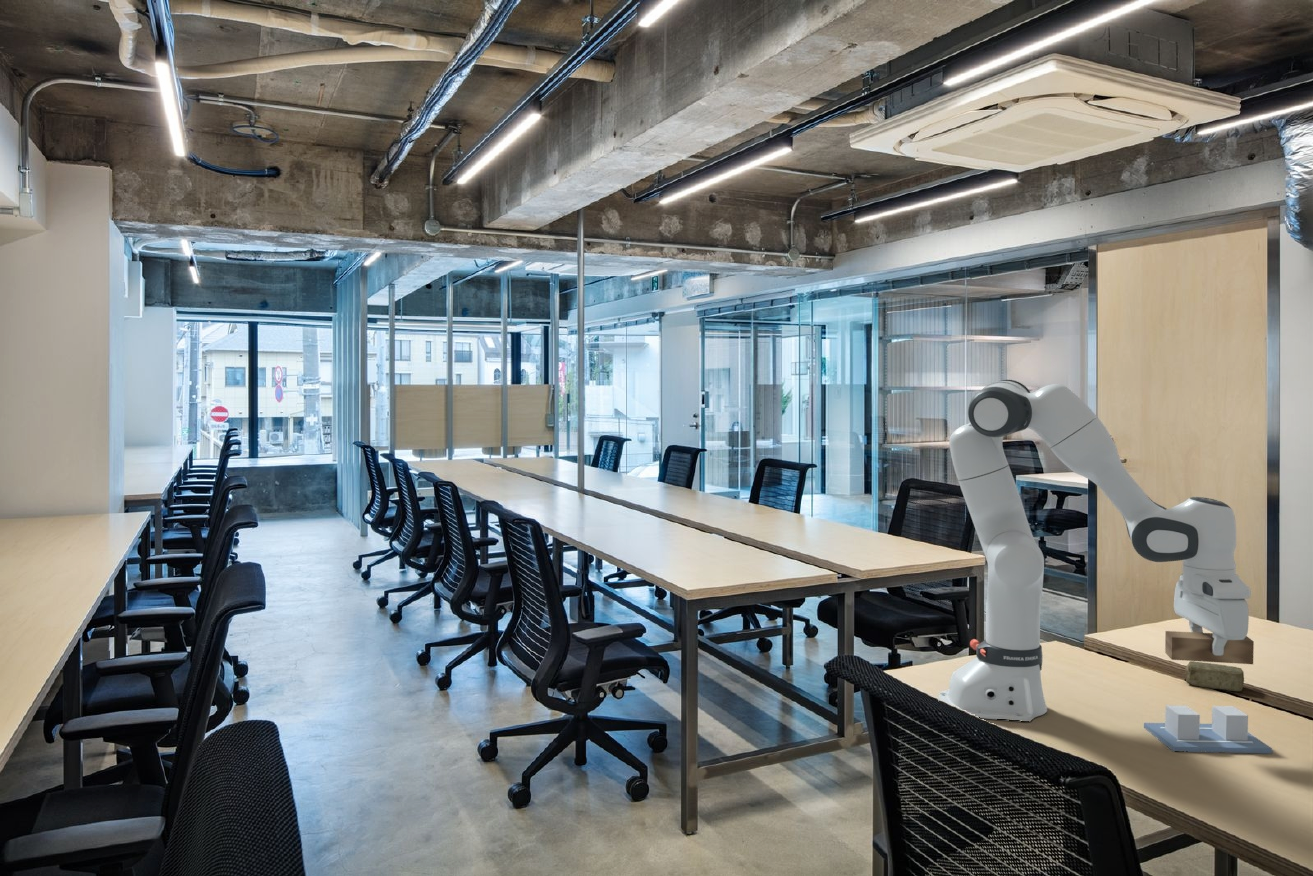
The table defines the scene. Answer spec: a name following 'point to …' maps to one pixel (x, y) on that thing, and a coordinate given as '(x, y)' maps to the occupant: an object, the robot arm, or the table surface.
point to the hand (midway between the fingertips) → (1207, 649)
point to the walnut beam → (1206, 648)
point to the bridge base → (1207, 731)
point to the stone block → (1214, 676)
